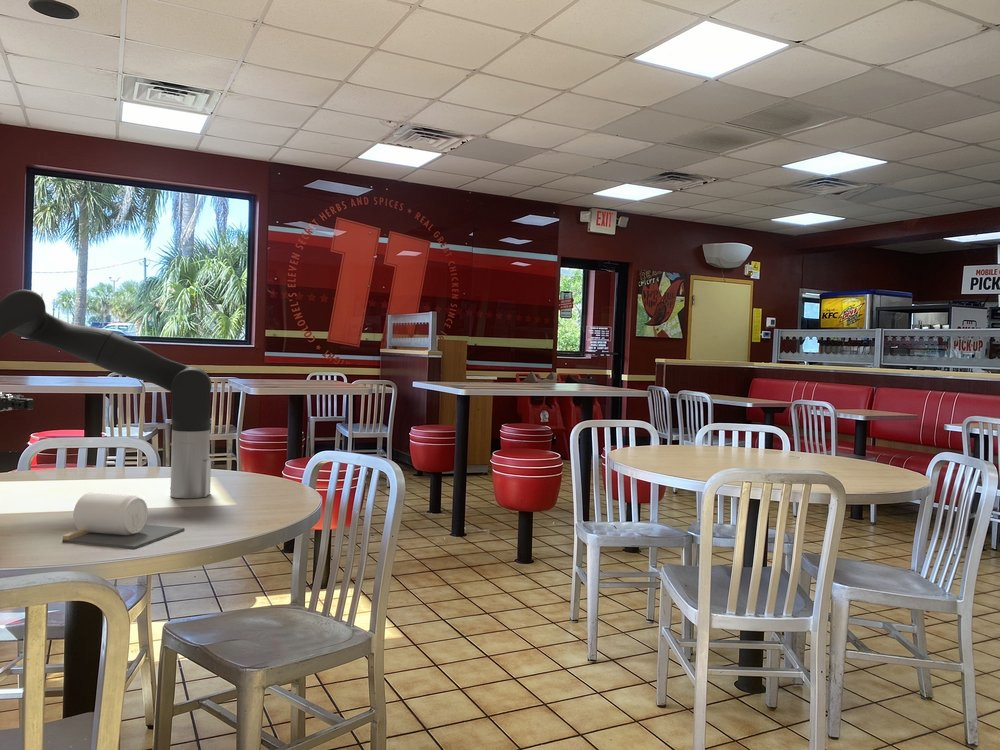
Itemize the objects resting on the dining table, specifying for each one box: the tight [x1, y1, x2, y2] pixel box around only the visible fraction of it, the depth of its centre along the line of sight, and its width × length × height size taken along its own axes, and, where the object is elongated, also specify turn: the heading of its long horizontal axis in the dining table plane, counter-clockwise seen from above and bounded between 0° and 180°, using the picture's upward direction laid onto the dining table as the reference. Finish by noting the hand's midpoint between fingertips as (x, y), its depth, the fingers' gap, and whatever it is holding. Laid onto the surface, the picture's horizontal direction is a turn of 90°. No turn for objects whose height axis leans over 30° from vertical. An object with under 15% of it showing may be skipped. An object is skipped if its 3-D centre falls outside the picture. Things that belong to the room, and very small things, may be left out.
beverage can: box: [72, 492, 149, 535], centre depth 157 cm, size 8×8×12 cm
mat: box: [62, 523, 186, 550], centre depth 157 cm, size 16×16×1 cm
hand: (31, 404), depth 160 cm, fingers closed
